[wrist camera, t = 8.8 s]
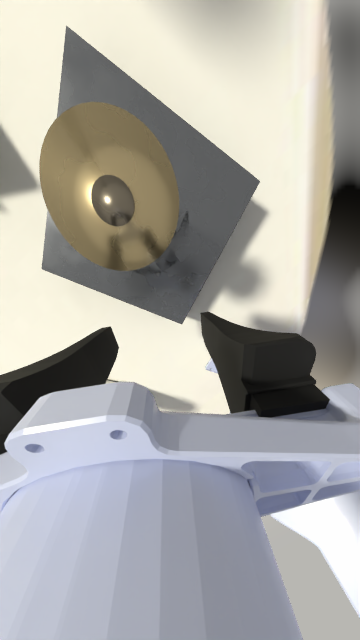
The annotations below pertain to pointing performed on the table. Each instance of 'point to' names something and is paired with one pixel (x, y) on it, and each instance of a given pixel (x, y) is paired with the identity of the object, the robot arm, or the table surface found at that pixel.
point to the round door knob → (109, 186)
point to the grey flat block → (193, 187)
